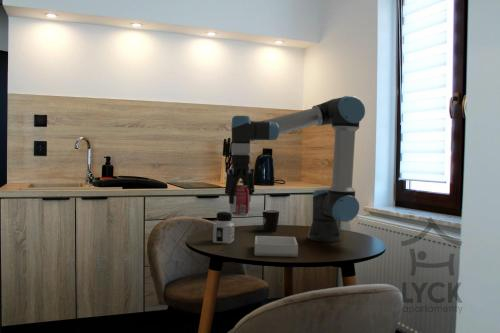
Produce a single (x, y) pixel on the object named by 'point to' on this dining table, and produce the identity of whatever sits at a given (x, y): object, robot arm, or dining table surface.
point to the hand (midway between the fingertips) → (239, 210)
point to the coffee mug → (270, 220)
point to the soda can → (241, 200)
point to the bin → (276, 246)
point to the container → (223, 228)
